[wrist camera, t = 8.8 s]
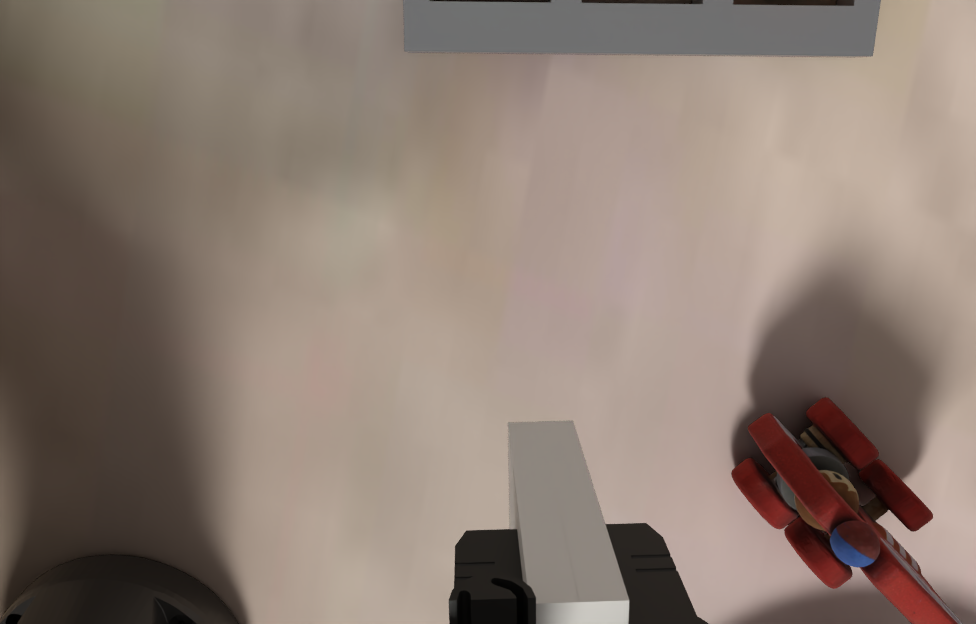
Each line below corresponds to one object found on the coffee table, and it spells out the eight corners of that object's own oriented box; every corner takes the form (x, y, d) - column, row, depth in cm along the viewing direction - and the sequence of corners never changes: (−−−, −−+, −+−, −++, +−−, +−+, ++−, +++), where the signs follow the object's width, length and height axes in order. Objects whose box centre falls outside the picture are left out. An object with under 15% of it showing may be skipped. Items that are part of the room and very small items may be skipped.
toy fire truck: (796, 362, 44) (889, 447, 34) (923, 506, 46) (1044, 625, 36) (698, 440, 45) (760, 544, 35) (827, 576, 48) (918, 709, 38)
